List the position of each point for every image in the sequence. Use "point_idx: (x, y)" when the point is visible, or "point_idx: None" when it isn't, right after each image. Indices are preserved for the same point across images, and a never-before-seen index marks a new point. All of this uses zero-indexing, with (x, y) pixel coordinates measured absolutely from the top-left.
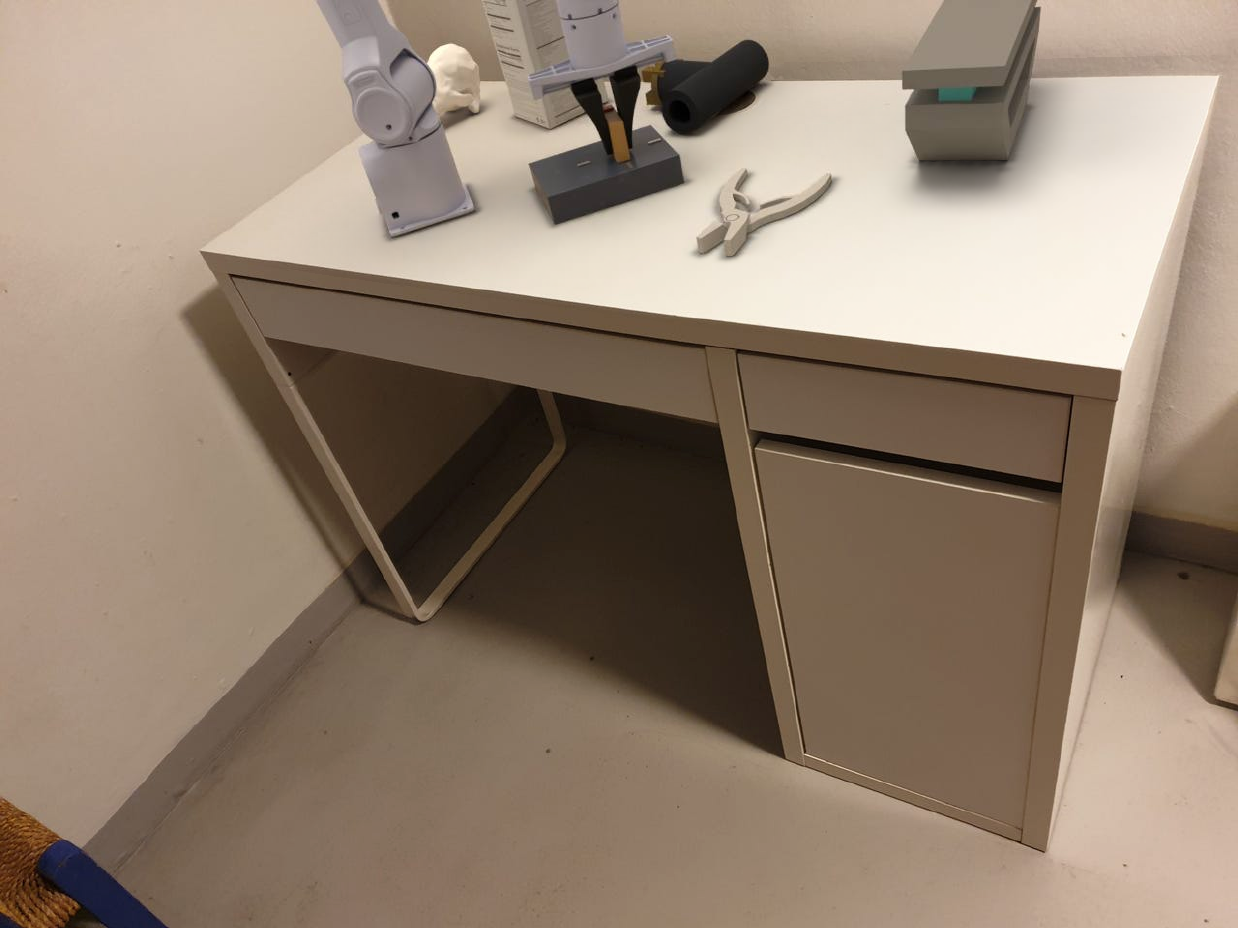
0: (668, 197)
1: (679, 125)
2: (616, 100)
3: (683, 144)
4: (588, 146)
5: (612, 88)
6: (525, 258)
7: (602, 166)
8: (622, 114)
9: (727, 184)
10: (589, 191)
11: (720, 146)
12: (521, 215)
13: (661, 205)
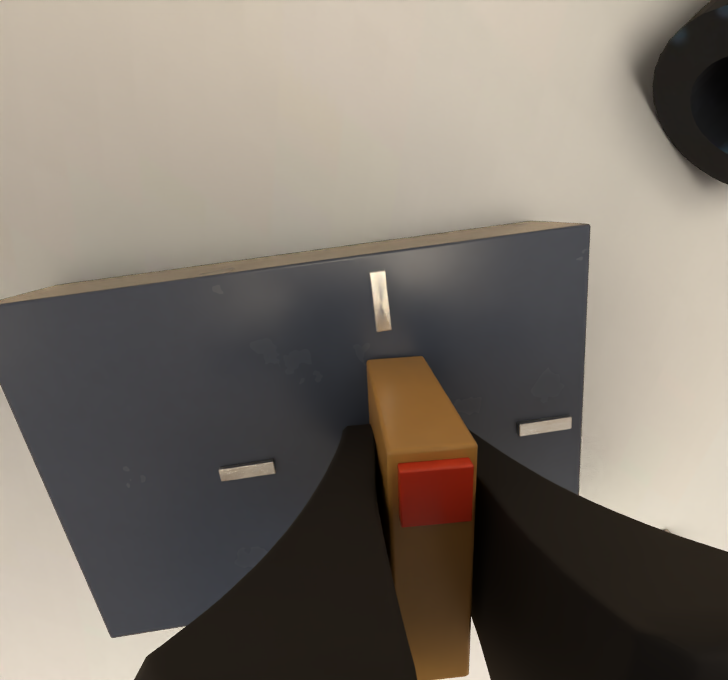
0: None
1: (693, 117)
2: (513, 618)
3: (631, 222)
4: (277, 292)
5: (553, 607)
6: (85, 670)
7: None
8: (489, 665)
9: None
10: None
11: (712, 319)
12: (30, 454)
13: None
